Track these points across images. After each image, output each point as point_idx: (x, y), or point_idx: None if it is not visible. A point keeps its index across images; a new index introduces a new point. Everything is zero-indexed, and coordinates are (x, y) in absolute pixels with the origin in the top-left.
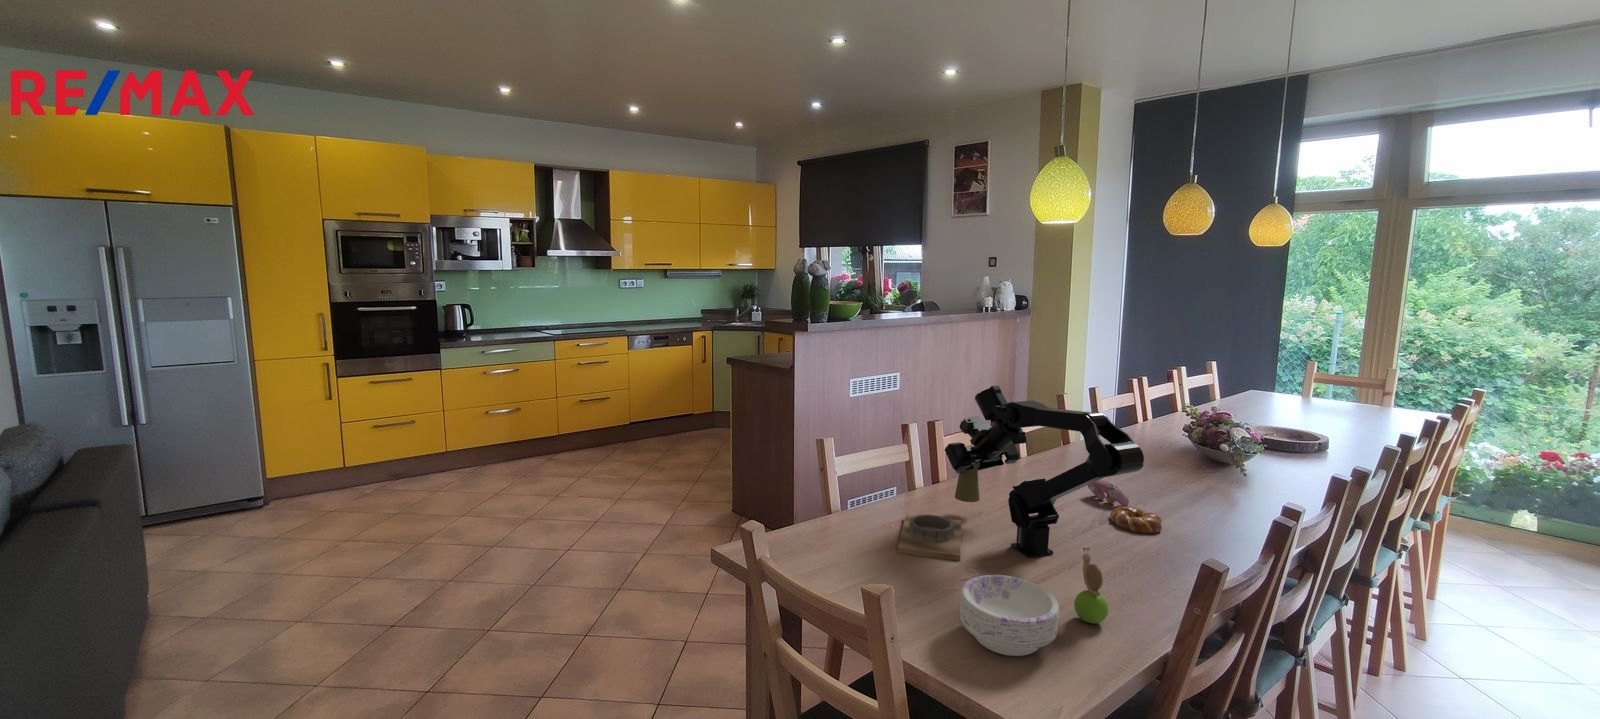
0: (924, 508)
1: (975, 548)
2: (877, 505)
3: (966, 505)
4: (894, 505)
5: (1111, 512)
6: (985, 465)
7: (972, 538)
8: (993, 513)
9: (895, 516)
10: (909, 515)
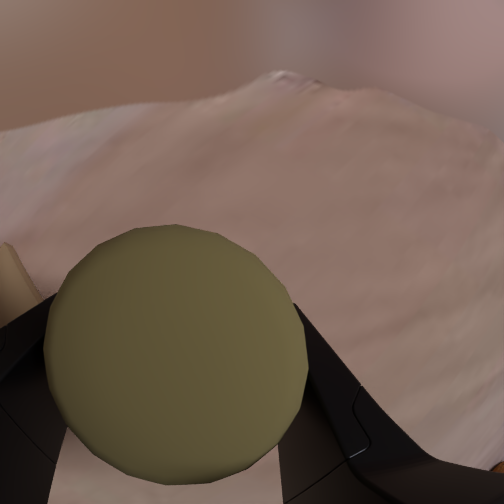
0: (121, 202)
1: (50, 495)
2: (43, 126)
3: (282, 257)
4: (72, 142)
5: (501, 472)
6: (287, 471)
7: (78, 465)
8: None
9: (10, 213)
10: (5, 254)
